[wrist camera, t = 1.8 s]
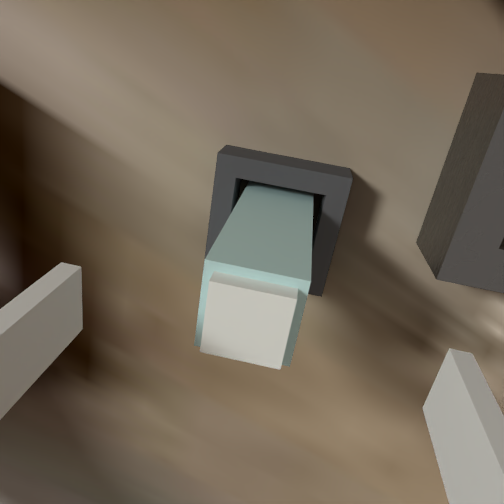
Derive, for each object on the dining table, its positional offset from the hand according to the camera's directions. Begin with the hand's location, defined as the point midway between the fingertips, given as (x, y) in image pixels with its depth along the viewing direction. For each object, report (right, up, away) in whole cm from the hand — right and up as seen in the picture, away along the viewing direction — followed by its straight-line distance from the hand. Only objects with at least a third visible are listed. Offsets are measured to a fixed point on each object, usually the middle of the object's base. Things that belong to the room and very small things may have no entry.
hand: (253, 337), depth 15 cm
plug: (+1, +5, +12) cm, 13 cm away
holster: (+1, +5, +12) cm, 13 cm away
